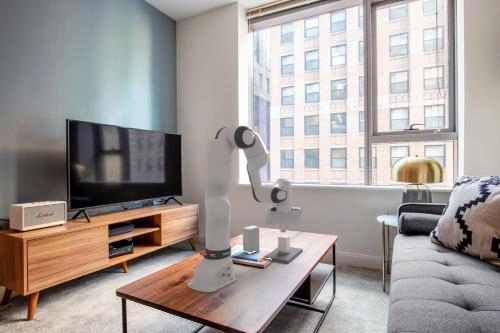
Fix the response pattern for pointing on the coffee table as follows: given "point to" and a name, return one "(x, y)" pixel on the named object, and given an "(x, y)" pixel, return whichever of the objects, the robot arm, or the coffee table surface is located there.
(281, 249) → the white upright block
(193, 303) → the coffee table surface
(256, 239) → the skincare box
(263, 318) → the coffee table surface
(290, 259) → the post base
